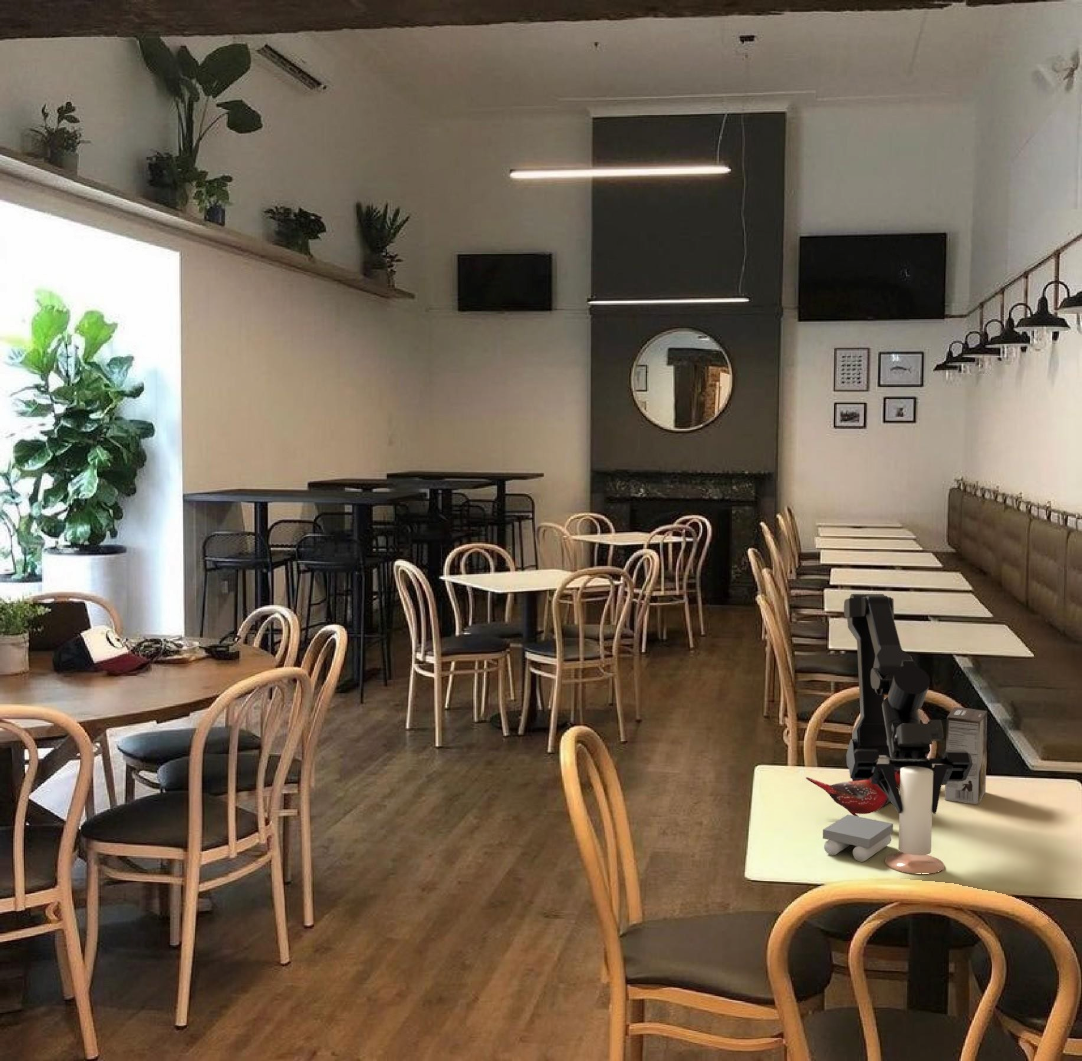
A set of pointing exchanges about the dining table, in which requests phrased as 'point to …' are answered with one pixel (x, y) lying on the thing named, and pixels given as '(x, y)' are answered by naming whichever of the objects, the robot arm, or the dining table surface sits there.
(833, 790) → the decorative bird figurine
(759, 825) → the dining table surface
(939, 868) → the pad
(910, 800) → the post
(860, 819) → the slab on rollers
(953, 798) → the coffee box
